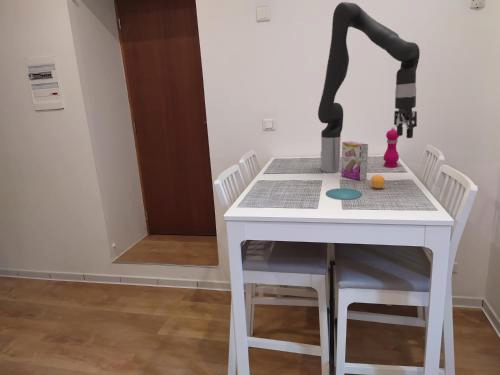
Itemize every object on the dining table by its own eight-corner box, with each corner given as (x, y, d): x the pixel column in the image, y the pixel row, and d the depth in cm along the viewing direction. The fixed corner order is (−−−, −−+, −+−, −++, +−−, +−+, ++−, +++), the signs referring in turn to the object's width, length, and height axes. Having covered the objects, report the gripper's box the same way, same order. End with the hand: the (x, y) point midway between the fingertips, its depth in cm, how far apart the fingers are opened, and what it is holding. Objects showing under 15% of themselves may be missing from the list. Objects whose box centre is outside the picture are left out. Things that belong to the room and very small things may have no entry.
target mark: (319, 191, 139) (319, 191, 139) (348, 186, 143) (348, 186, 143) (337, 201, 126) (337, 201, 126) (369, 196, 130) (369, 195, 130)
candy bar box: (340, 176, 159) (341, 141, 154) (348, 174, 161) (349, 140, 157) (359, 181, 150) (360, 144, 145) (367, 179, 152) (368, 143, 147)
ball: (367, 187, 140) (367, 174, 139) (378, 185, 142) (379, 172, 140) (376, 191, 135) (376, 177, 134) (387, 189, 137) (388, 175, 135)
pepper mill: (399, 167, 167) (402, 127, 162) (384, 168, 169) (386, 127, 163) (396, 164, 174) (399, 125, 168) (381, 164, 176) (384, 126, 170)
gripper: (388, 97, 140) (387, 136, 144) (404, 96, 126) (403, 139, 131) (406, 95, 140) (405, 134, 144) (424, 94, 127) (422, 137, 131)
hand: (404, 136), depth 137 cm, fingers open, 8 cm apart
